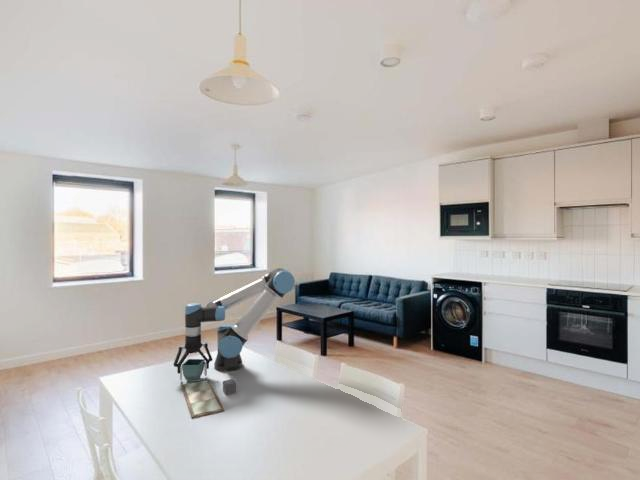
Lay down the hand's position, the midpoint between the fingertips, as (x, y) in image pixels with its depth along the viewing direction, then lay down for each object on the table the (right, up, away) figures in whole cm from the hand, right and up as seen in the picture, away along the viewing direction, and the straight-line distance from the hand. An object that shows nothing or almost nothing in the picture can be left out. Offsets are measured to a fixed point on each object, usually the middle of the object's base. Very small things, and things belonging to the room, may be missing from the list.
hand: (193, 377), depth 183 cm
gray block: (+22, -2, -14) cm, 26 cm away
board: (+11, -2, -20) cm, 23 cm away
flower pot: (0, -1, 0) cm, 1 cm away
